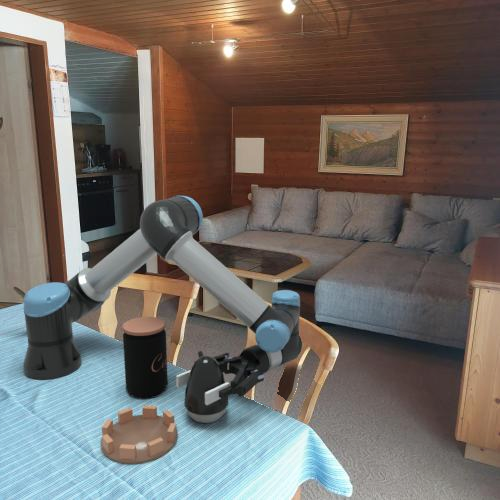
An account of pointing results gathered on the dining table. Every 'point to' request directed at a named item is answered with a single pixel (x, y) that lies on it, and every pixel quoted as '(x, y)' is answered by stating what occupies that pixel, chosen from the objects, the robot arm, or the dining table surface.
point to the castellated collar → (139, 436)
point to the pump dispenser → (204, 390)
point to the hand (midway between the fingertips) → (191, 390)
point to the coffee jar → (145, 356)
